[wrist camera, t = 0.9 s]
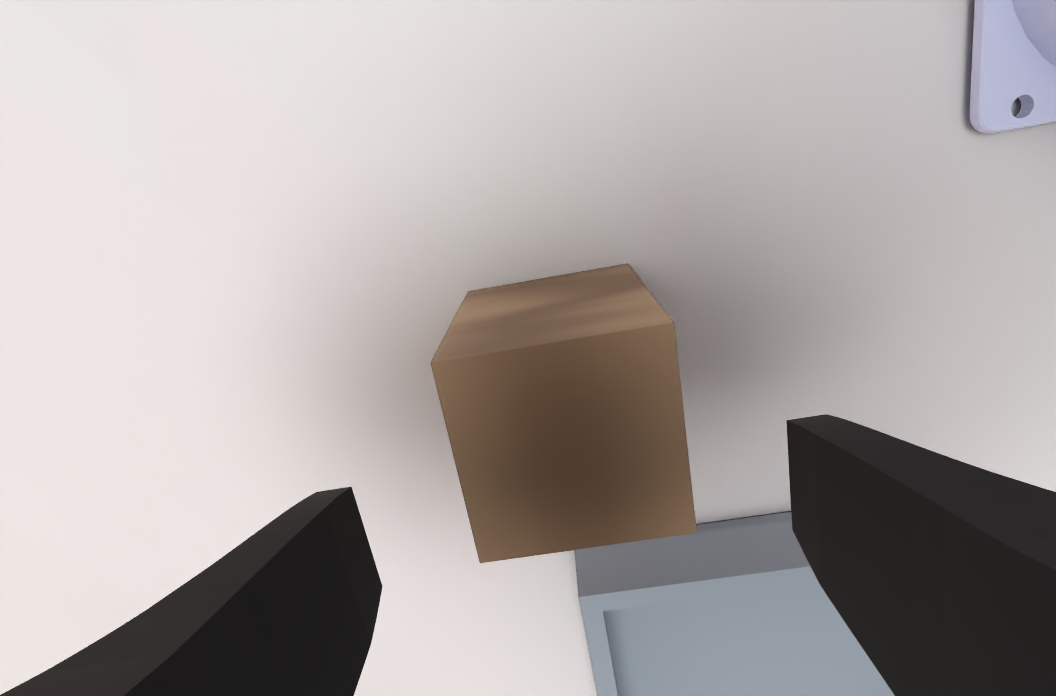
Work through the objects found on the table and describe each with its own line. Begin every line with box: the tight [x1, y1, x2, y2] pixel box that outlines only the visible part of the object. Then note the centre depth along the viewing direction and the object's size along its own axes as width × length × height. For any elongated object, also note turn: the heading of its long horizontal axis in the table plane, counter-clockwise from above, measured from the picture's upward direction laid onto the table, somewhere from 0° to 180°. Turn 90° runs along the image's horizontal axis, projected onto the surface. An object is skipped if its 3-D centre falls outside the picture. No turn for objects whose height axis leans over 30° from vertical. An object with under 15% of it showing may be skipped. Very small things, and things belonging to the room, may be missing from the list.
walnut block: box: [431, 264, 697, 563], centre depth 14 cm, size 4×4×6 cm
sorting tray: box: [575, 512, 895, 696], centre depth 19 cm, size 11×11×2 cm
